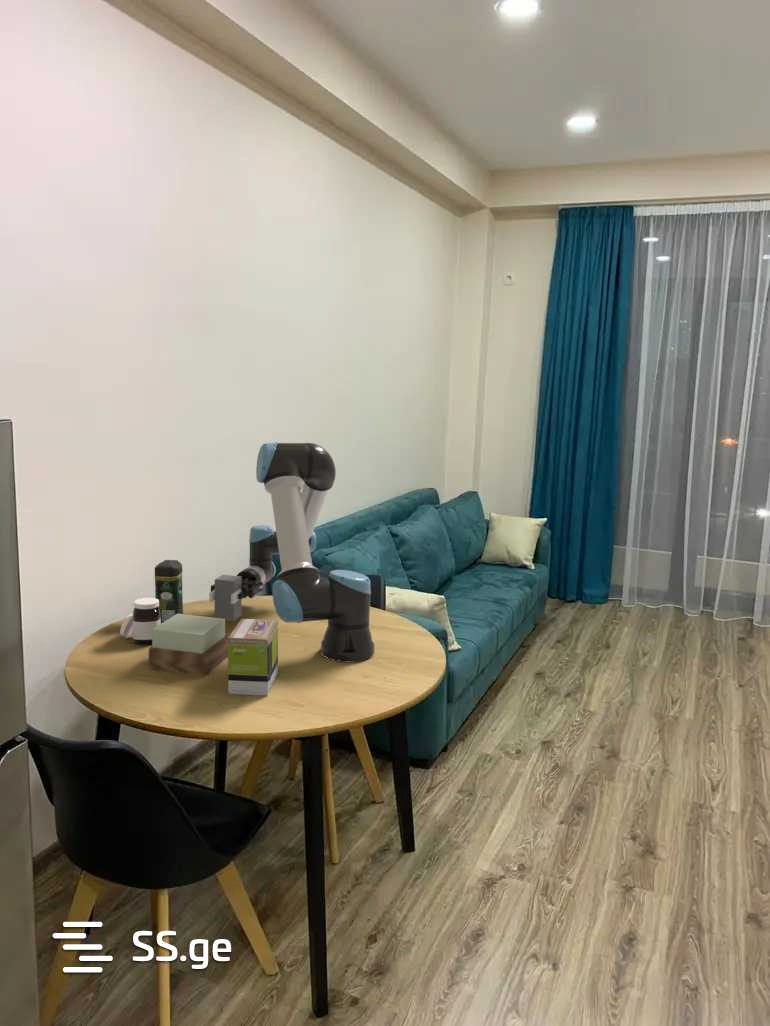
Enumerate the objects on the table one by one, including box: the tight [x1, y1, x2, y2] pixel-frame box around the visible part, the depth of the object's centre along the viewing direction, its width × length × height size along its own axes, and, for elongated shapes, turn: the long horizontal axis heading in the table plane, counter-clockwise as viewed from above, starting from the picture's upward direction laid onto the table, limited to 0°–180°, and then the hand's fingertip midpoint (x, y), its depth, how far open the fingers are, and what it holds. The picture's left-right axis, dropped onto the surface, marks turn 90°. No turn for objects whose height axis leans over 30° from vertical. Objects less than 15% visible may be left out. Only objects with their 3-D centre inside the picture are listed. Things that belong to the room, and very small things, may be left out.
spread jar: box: [119, 597, 161, 645], centre depth 217 cm, size 12×11×12 cm
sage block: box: [151, 613, 226, 654], centre depth 201 cm, size 14×14×5 cm
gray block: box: [214, 574, 242, 621], centre depth 225 cm, size 6×6×12 cm
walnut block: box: [148, 633, 231, 676], centre depth 202 cm, size 16×16×6 cm
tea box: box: [227, 618, 279, 696], centre depth 189 cm, size 15×10×15 cm
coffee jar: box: [154, 559, 184, 623], centre depth 235 cm, size 10×8×19 cm
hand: (221, 598), depth 220 cm, fingers closed on gray block, 6 cm apart
